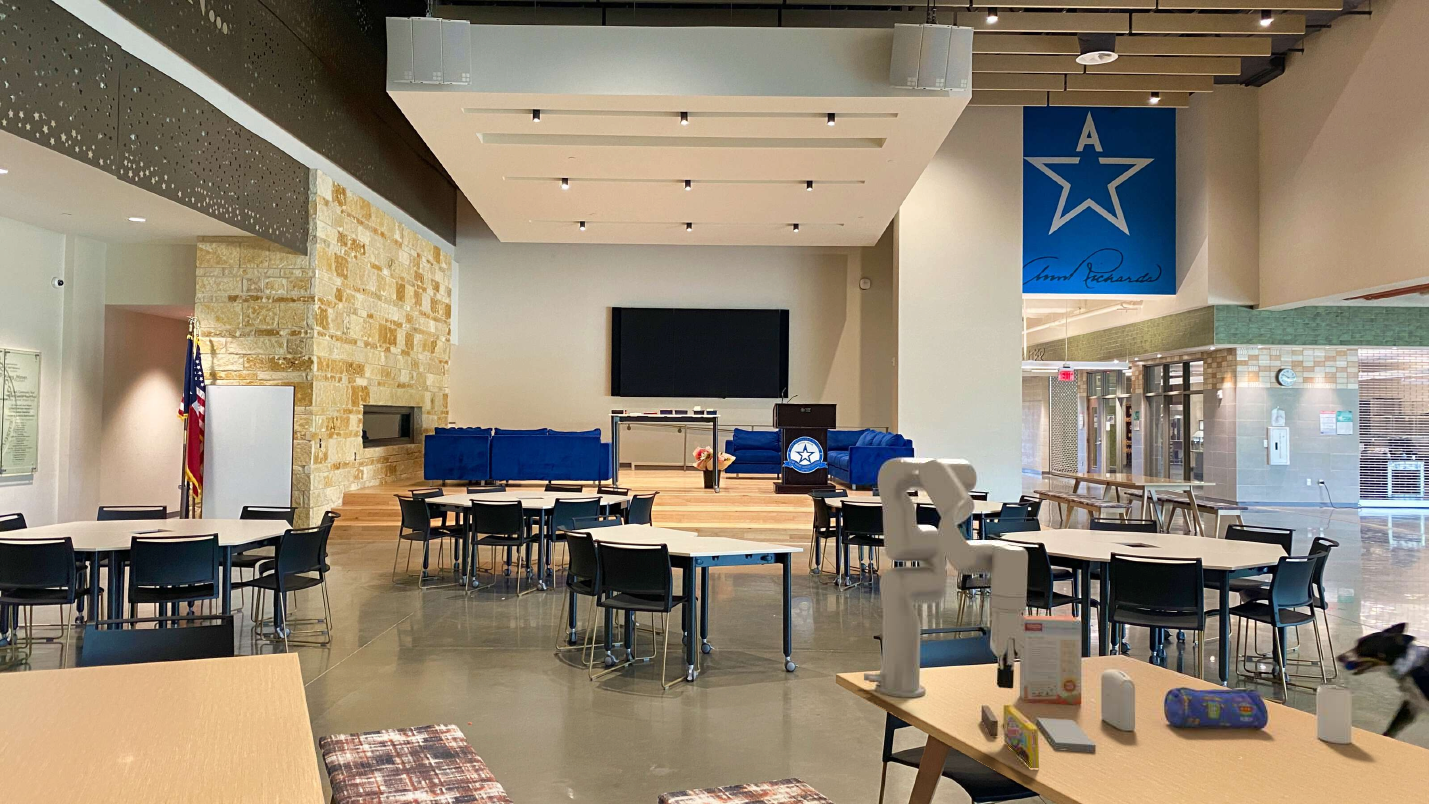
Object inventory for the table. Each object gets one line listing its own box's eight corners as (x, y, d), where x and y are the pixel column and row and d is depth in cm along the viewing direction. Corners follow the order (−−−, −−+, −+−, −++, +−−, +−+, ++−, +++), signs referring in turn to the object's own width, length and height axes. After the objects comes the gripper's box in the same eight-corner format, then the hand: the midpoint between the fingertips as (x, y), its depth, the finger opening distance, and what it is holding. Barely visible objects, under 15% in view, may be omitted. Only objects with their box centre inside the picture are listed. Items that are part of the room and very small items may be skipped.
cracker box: (1074, 699, 234) (1075, 616, 235) (1081, 705, 228) (1082, 620, 229) (1018, 696, 235) (1019, 613, 236) (1023, 702, 229) (1025, 617, 230)
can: (1346, 737, 208) (1346, 684, 208) (1355, 746, 202) (1355, 691, 202) (1313, 734, 210) (1313, 680, 210) (1321, 742, 204) (1321, 687, 204)
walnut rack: (990, 736, 200) (990, 720, 201) (981, 720, 212) (981, 705, 212) (1021, 738, 200) (1022, 722, 200) (1010, 722, 211) (1011, 707, 212)
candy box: (1002, 744, 196) (1003, 704, 196) (1012, 744, 196) (1013, 704, 197) (1028, 770, 180) (1029, 727, 180) (1039, 771, 180) (1040, 728, 180)
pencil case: (1250, 723, 218) (1250, 682, 218) (1274, 734, 209) (1274, 691, 210) (1159, 721, 217) (1159, 680, 217) (1179, 733, 208) (1180, 690, 209)
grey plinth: (1055, 749, 193) (1055, 742, 193) (1036, 724, 211) (1036, 717, 211) (1095, 752, 192) (1095, 745, 192) (1072, 726, 210) (1072, 720, 210)
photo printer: (1098, 718, 217) (1098, 665, 218) (1116, 718, 218) (1116, 665, 218) (1119, 731, 207) (1119, 676, 208) (1137, 732, 207) (1138, 676, 208)
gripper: (984, 595, 209) (981, 676, 209) (996, 608, 194) (993, 695, 194) (1018, 597, 208) (1015, 679, 208) (1033, 610, 193) (1030, 698, 193)
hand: (1004, 686), depth 201 cm, fingers closed
